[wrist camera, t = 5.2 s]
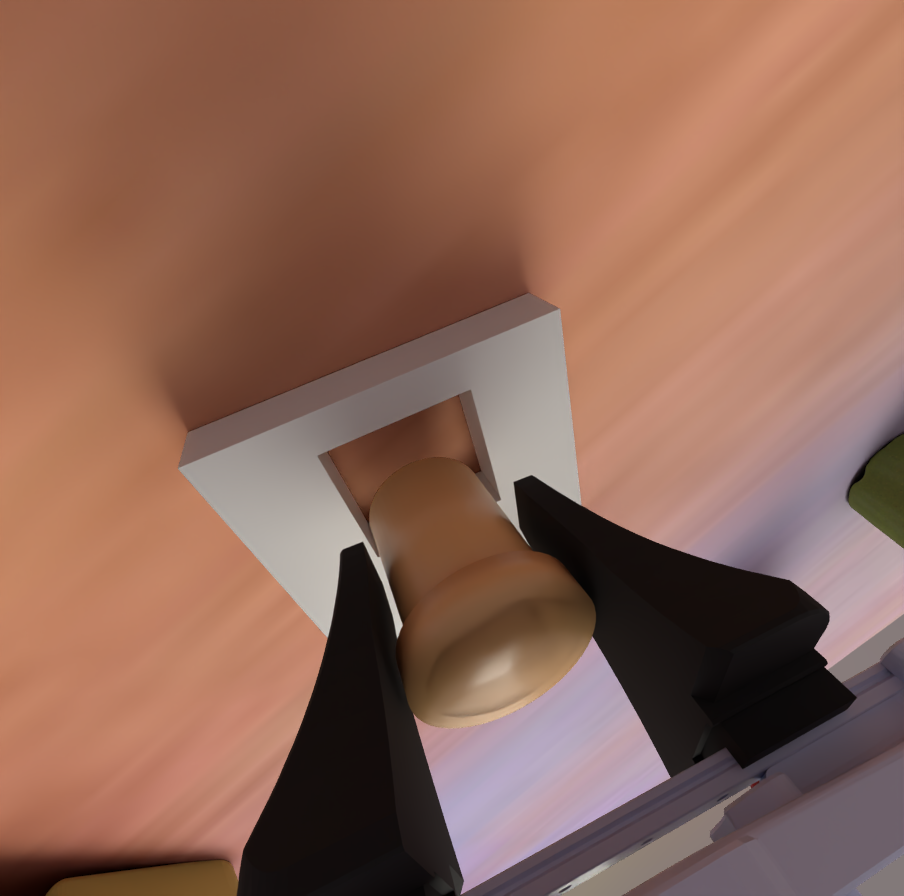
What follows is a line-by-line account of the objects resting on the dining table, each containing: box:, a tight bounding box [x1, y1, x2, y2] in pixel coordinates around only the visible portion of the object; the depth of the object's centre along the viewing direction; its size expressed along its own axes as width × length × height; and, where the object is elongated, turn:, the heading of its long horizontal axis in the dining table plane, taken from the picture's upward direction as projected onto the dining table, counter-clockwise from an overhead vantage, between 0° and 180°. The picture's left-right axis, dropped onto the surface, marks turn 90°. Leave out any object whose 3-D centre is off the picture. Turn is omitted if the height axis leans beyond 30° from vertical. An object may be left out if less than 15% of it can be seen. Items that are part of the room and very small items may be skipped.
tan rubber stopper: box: [369, 457, 596, 728], centre depth 13 cm, size 5×5×6 cm
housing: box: [178, 293, 581, 638], centre depth 18 cm, size 16×12×2 cm
